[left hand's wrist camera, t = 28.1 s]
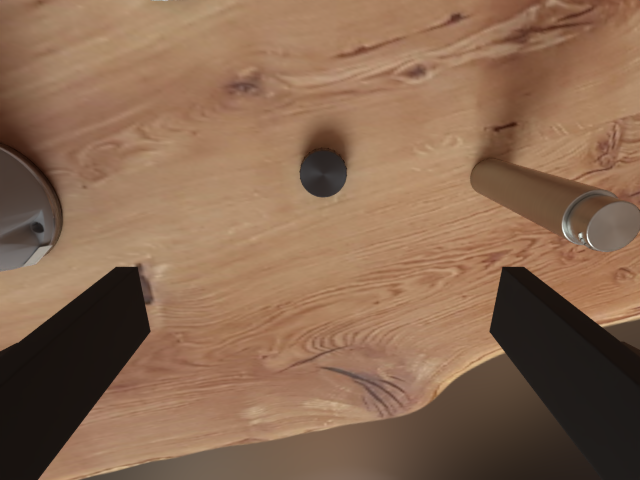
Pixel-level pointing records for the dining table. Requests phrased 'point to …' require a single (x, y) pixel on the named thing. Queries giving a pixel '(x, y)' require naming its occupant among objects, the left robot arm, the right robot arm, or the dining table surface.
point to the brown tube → (559, 204)
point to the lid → (323, 172)
